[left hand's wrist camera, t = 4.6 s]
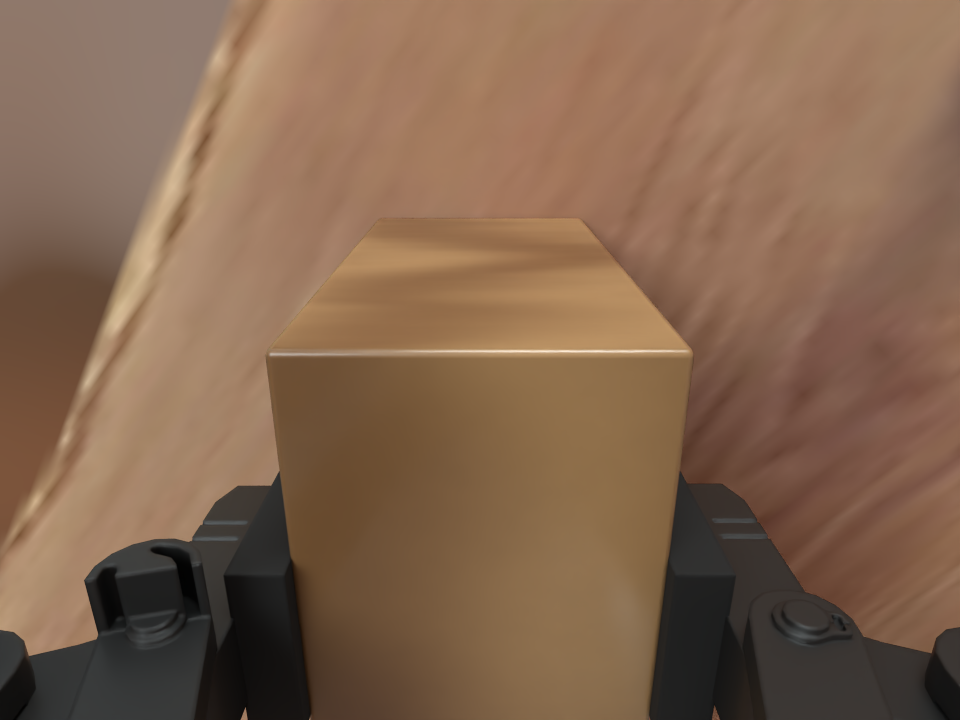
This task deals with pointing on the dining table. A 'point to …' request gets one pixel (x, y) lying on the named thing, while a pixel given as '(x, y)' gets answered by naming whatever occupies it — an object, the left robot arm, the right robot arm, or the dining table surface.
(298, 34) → the dining table surface
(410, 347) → the brick
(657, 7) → the dining table surface
